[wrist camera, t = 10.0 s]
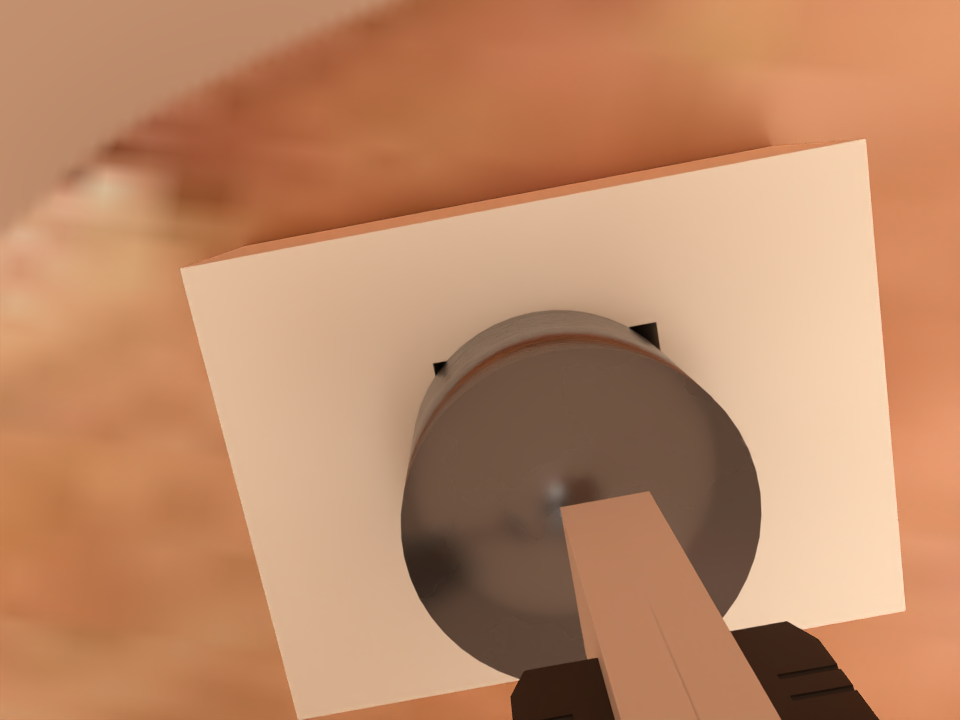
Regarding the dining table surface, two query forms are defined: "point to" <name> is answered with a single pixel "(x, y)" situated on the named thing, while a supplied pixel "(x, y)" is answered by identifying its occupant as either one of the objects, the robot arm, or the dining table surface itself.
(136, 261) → the dining table surface
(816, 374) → the block
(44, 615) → the dining table surface
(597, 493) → the pin
